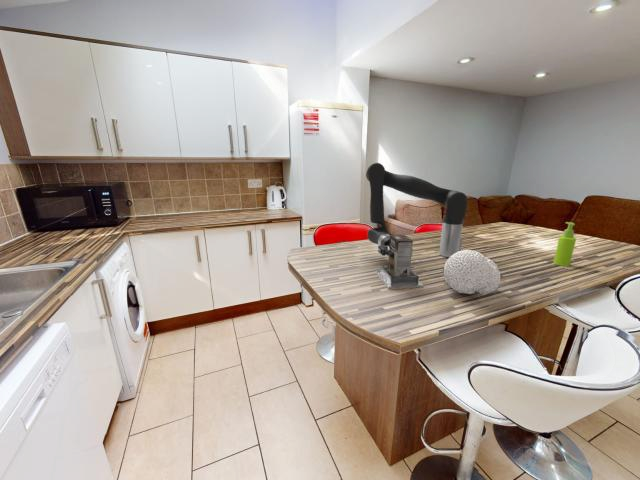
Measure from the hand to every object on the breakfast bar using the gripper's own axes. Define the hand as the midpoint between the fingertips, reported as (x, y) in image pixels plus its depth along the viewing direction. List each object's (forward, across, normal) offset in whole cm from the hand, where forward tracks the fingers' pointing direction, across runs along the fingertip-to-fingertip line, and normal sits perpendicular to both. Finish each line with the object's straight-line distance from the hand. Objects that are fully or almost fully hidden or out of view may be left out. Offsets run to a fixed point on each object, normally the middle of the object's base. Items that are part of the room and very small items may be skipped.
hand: (401, 255), depth 108 cm
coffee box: (-2, 0, +9) cm, 10 cm away
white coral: (+10, +23, +11) cm, 27 cm away
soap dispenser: (-12, +84, +12) cm, 86 cm away
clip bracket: (-2, 0, +11) cm, 11 cm away
